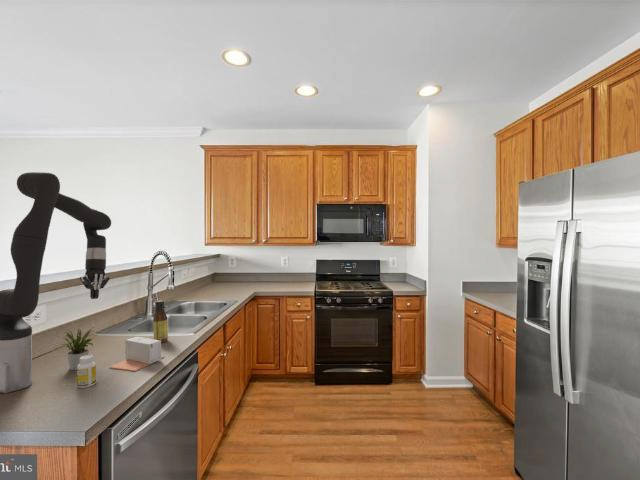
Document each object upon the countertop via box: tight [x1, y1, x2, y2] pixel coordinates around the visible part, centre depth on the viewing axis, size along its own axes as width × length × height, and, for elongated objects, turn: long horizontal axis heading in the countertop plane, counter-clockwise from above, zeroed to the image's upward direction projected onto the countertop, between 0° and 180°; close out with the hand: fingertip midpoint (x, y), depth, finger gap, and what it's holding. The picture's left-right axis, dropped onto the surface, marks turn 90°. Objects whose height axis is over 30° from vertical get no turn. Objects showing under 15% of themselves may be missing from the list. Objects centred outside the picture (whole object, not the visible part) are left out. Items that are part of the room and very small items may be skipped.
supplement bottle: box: [76, 354, 97, 389], centre depth 119 cm, size 5×5×10 cm
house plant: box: [52, 325, 95, 371], centre depth 133 cm, size 14×14×16 cm
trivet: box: [109, 355, 165, 373], centre depth 140 cm, size 16×12×1 cm
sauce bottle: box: [152, 299, 169, 344], centre depth 168 cm, size 7×6×20 cm
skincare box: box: [124, 336, 162, 365], centre depth 142 cm, size 8×6×15 cm
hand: (94, 298), depth 148 cm, fingers closed
